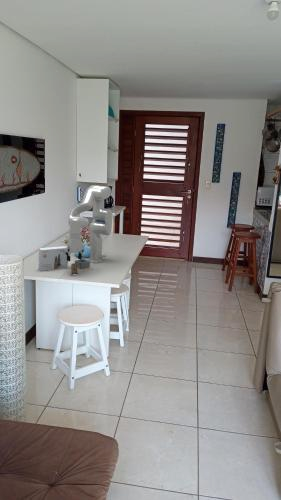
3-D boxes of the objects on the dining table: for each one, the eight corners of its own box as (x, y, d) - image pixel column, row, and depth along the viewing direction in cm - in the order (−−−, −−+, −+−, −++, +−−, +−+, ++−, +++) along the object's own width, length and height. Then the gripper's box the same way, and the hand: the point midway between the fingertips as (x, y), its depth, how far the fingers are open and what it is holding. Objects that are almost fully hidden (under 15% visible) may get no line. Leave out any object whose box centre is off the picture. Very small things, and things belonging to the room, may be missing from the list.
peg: (74, 272, 272) (75, 263, 270) (78, 273, 269) (78, 264, 267) (69, 273, 269) (70, 264, 267) (73, 275, 266) (73, 265, 264)
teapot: (77, 259, 305) (78, 247, 302) (70, 254, 317) (71, 242, 315) (94, 258, 313) (94, 245, 310) (86, 253, 325) (87, 241, 322)
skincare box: (41, 271, 269) (41, 249, 265) (38, 269, 273) (38, 248, 269) (68, 268, 281) (68, 247, 277) (65, 266, 285) (65, 245, 282)
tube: (83, 264, 291) (83, 258, 290) (92, 268, 284) (92, 261, 282) (71, 267, 283) (71, 260, 282) (80, 270, 276) (80, 263, 275)
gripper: (81, 234, 271) (80, 257, 275) (61, 236, 259) (60, 260, 262) (88, 236, 266) (87, 259, 270) (67, 238, 254) (67, 262, 257)
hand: (74, 260), depth 266 cm, fingers open, 9 cm apart
